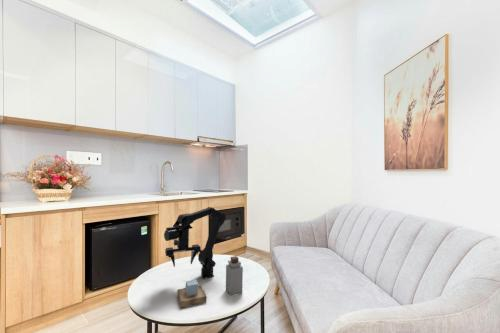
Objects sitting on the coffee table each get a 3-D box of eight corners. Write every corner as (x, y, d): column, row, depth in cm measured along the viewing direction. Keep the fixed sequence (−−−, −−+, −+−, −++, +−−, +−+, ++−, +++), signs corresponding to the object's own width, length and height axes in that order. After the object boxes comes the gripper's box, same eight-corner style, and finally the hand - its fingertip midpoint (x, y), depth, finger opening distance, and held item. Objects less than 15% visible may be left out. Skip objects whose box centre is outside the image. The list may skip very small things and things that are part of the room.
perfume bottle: (230, 296, 116) (231, 260, 116) (225, 290, 122) (226, 256, 122) (242, 293, 119) (242, 258, 120) (237, 287, 125) (237, 254, 126)
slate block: (195, 289, 116) (195, 279, 116) (197, 294, 112) (198, 283, 112) (185, 291, 114) (186, 281, 114) (187, 296, 109) (187, 285, 110)
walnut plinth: (200, 290, 121) (200, 284, 121) (206, 302, 110) (206, 296, 110) (177, 295, 116) (177, 289, 116) (181, 308, 105) (181, 301, 105)
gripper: (196, 232, 138) (196, 258, 138) (164, 235, 130) (163, 262, 130) (201, 237, 128) (200, 264, 128) (166, 240, 120) (165, 270, 120)
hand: (182, 265), depth 127 cm, fingers open, 9 cm apart
